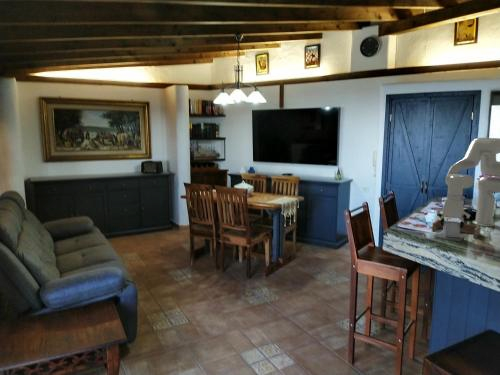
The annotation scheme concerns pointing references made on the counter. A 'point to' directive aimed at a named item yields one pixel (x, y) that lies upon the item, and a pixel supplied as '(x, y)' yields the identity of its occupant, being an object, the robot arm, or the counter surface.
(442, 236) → the mat
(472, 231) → the open side wooden frame
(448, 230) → the medicine box
